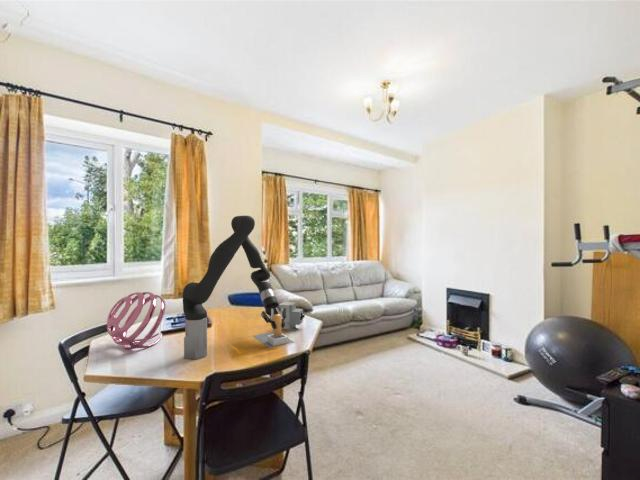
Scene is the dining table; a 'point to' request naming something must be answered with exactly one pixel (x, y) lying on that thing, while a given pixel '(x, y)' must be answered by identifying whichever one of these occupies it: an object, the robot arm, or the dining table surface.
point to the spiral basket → (121, 333)
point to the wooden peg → (278, 324)
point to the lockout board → (272, 339)
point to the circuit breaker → (292, 315)
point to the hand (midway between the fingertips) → (279, 327)
